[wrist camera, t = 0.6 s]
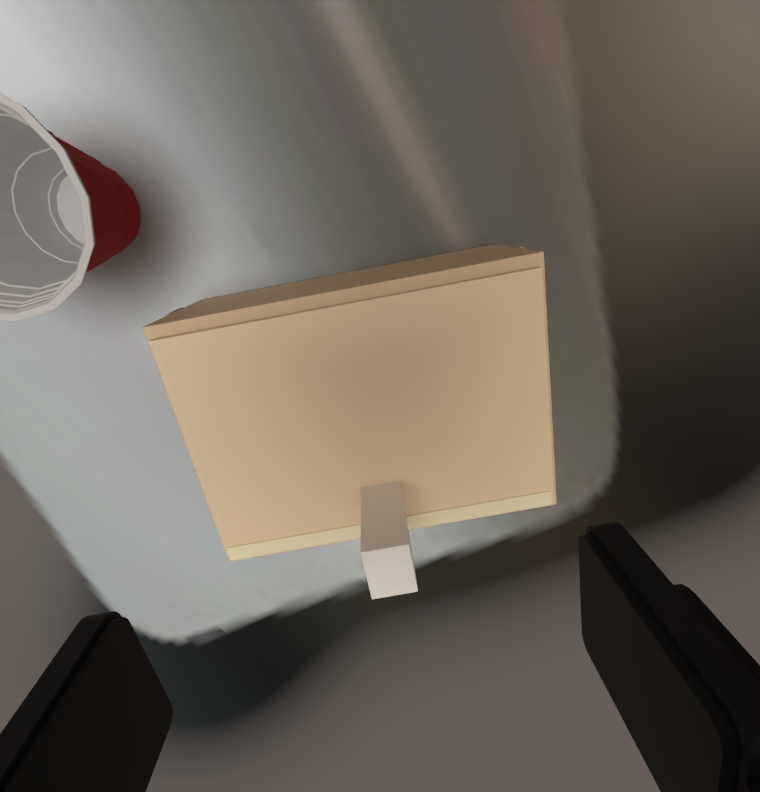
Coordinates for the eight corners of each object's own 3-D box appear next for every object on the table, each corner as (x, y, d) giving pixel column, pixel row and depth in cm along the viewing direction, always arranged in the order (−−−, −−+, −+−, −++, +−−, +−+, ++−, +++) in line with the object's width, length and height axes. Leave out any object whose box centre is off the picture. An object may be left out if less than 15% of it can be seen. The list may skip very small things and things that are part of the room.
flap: (153, 339, 25) (85, 375, 19) (537, 266, 25) (596, 280, 18) (231, 555, 30) (198, 639, 24) (550, 499, 30) (600, 571, 24)
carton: (198, 299, 34) (137, 327, 25) (496, 243, 34) (548, 249, 24) (256, 483, 40) (224, 562, 31) (513, 437, 39) (560, 503, 30)
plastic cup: (88, 317, 35) (-43, 361, 23) (-17, 175, 31) (-232, 146, 20) (210, 248, 33) (134, 260, 22) (115, 91, 30) (-36, 10, 18)
